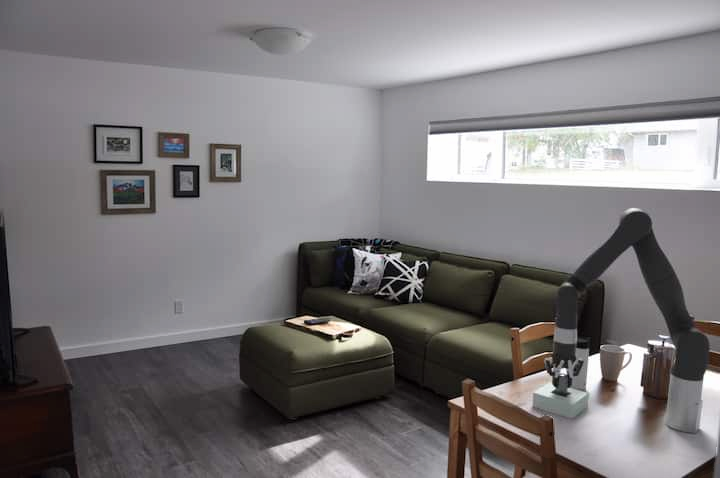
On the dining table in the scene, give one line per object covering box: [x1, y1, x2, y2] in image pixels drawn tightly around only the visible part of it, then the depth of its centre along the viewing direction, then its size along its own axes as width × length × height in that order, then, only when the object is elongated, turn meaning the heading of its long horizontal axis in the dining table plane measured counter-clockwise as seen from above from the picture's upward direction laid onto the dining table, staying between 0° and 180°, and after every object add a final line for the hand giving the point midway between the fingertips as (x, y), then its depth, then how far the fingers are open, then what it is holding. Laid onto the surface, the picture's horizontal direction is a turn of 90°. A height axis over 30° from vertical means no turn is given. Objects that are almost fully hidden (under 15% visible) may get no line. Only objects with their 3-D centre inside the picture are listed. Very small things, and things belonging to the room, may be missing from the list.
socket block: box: [532, 381, 589, 420], centre depth 195 cm, size 14×14×5 cm
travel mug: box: [570, 336, 592, 392], centre depth 211 cm, size 6×7×20 cm
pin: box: [555, 372, 569, 397], centre depth 195 cm, size 4×4×10 cm
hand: (561, 386), depth 194 cm, fingers closed on pin, 4 cm apart
